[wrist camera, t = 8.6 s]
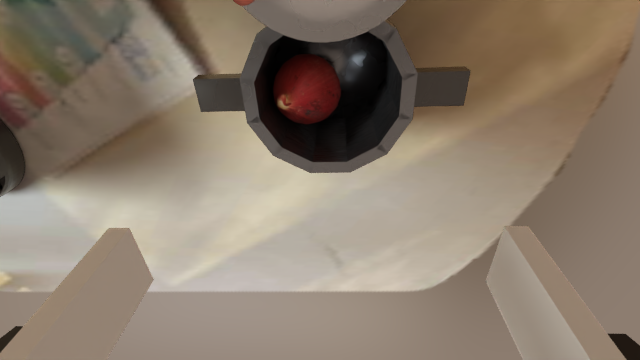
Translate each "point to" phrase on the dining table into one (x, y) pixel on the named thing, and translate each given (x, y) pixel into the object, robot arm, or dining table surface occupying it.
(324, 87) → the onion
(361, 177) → the dining table surface
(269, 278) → the dining table surface
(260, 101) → the pot
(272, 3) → the lid
